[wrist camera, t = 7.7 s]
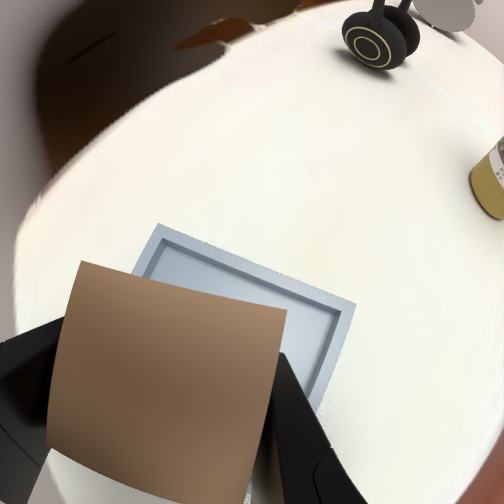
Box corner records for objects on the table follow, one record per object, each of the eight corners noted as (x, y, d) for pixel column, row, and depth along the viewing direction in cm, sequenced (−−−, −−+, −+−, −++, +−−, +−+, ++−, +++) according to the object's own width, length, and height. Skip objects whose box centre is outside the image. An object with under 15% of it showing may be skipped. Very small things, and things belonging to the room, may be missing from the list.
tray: (269, 488, 15) (271, 499, 13) (87, 402, 16) (75, 405, 14) (347, 308, 19) (356, 304, 17) (164, 233, 20) (158, 223, 19)
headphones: (413, 61, 32) (455, -35, 13) (383, 92, 27) (440, -46, 9) (366, 34, 33) (396, -62, 14) (323, 58, 29) (354, -78, 10)
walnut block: (240, 427, 13) (239, 515, 4) (147, 402, 13) (45, 443, 4) (260, 335, 14) (287, 309, 6) (167, 314, 15) (81, 260, 6)
